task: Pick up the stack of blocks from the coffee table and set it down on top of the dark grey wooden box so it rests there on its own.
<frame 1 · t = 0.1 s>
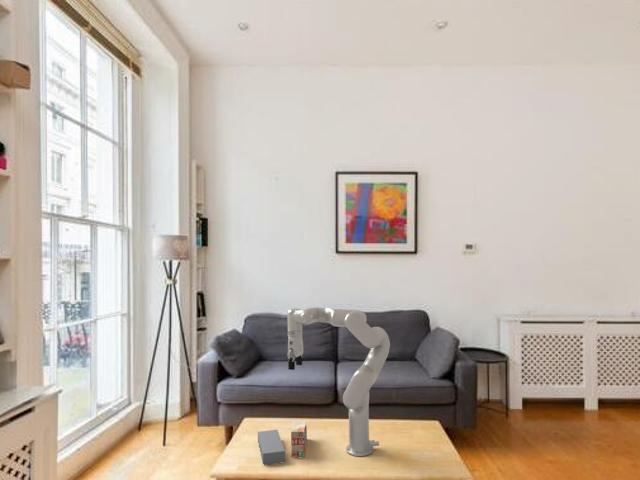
hand: (295, 367, 218), 37 cm above the table, tool pointing down, fingers open, 9 cm apart
stack of blocks: (299, 448, 209), on the table
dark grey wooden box: (270, 451, 206), on the table
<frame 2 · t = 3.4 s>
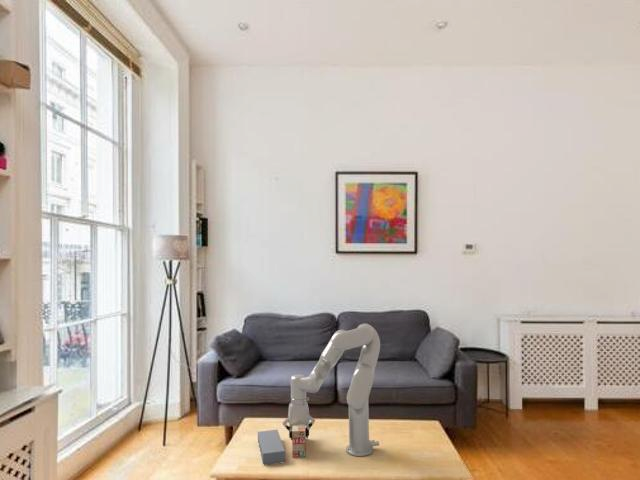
hand: (299, 437, 209), 5 cm above the table, tool pointing down, fingers closed on stack of blocks, 6 cm apart
stack of blocks: (299, 448, 209), on the table, touching gripper
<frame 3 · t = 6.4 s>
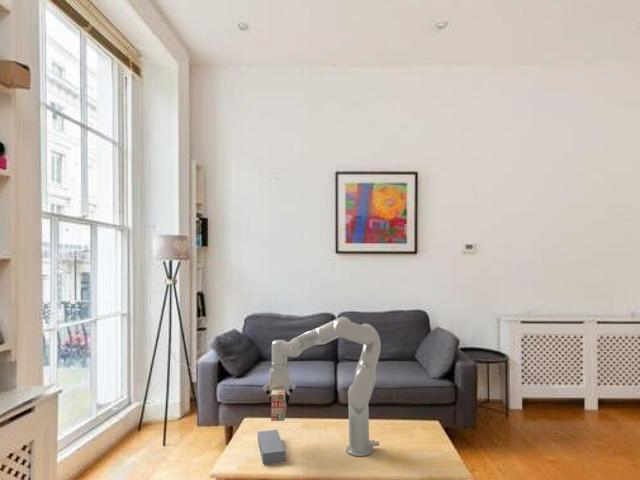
hand: (279, 403, 208), 22 cm above the table, tool pointing down, fingers closed on stack of blocks, 6 cm apart
stack of blocks: (279, 413, 208), point 17 cm above the table, touching gripper
when the fingers open (11 cm above the table, at t = 9.7 s): stack of blocks drops 1 cm, resting on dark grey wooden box.
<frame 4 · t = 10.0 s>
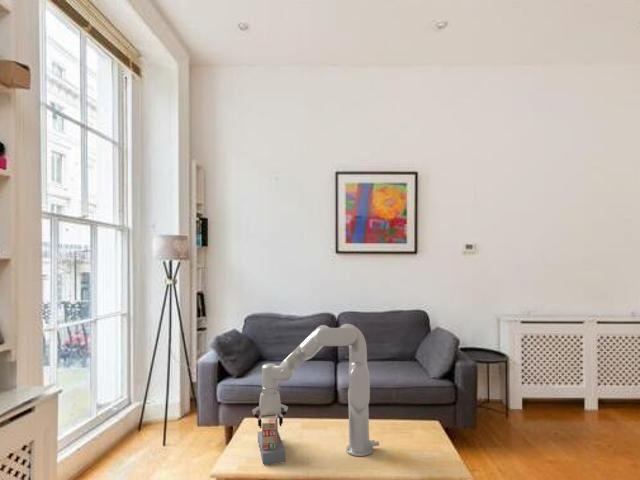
hand: (270, 426, 206), 12 cm above the table, tool pointing down, fingers open, 9 cm apart
stack of blocks: (270, 440, 206), point 5 cm above the table, touching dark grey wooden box
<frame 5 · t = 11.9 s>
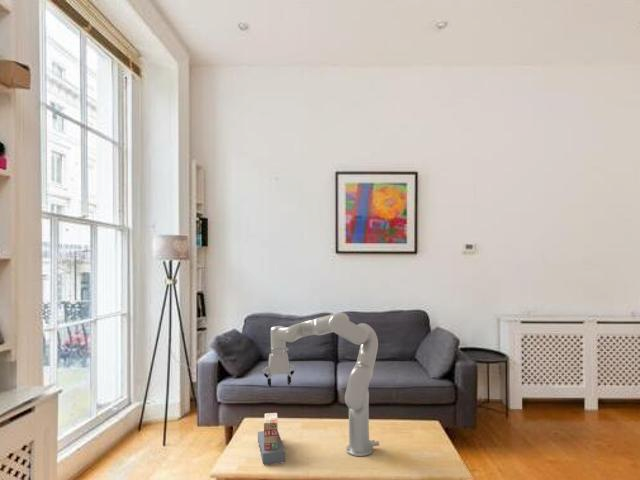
hand: (279, 385, 216), 29 cm above the table, tool pointing down, fingers open, 9 cm apart
nothing on the table moved.
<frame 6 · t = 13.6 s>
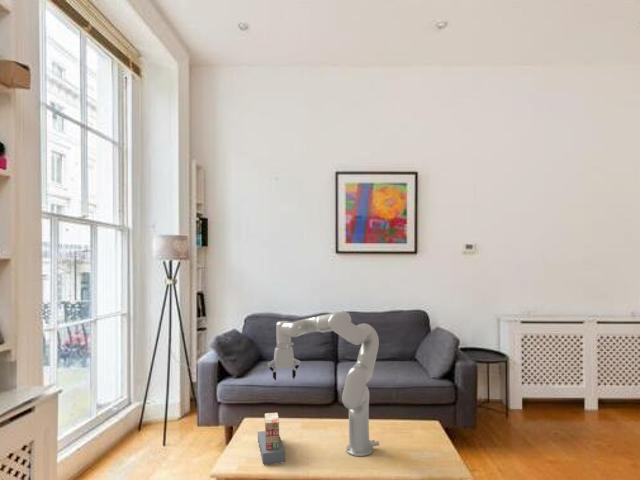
hand: (284, 378, 222), 30 cm above the table, tool pointing down, fingers open, 9 cm apart
nothing on the table moved.
at the end: stack of blocks inside the target area on the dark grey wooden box (1.0 cm from its centre), point 4.8 cm above the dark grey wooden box's base; stack of blocks tilted 0°; the gripper is holding nothing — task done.
